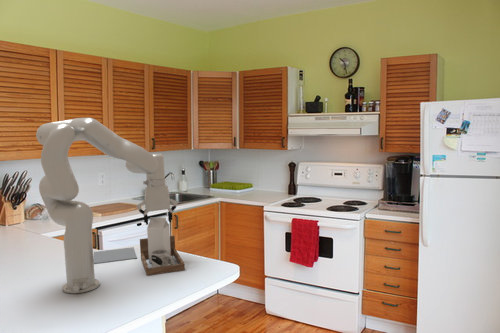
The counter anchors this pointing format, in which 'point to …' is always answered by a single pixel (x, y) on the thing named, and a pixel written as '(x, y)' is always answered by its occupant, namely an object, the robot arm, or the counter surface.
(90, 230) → the robot arm
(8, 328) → the counter surface
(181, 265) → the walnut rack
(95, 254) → the slate mat
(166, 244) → the milk carton
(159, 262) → the mug
